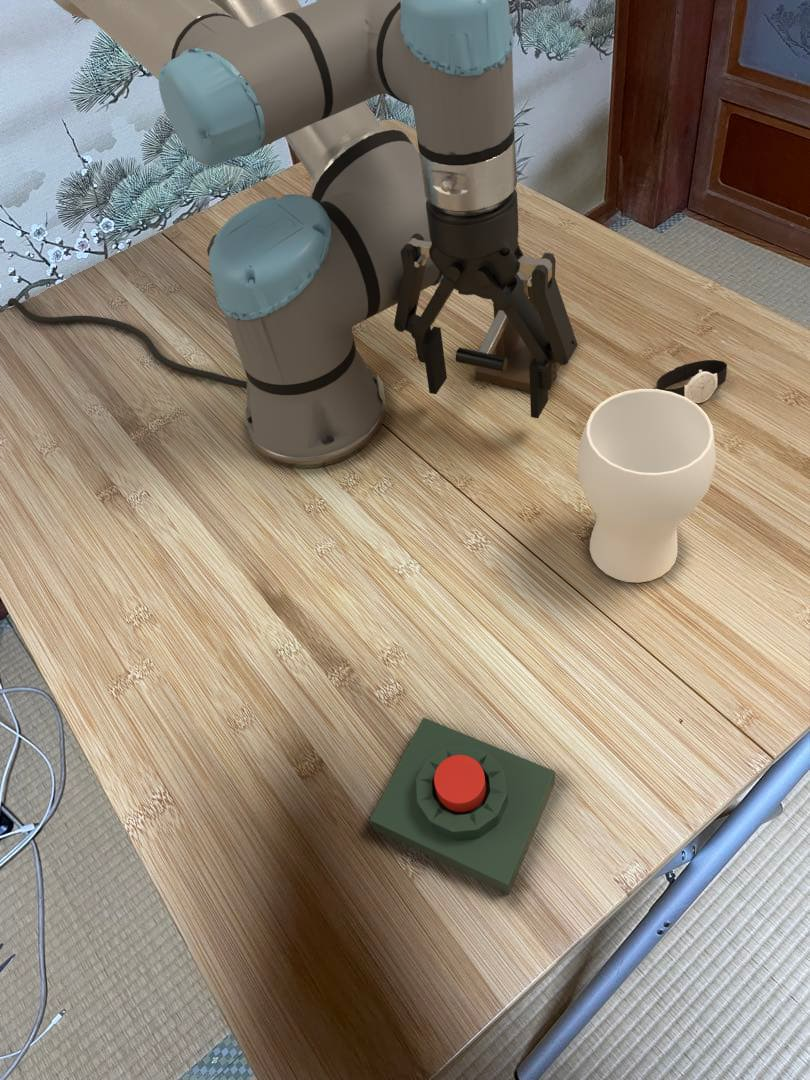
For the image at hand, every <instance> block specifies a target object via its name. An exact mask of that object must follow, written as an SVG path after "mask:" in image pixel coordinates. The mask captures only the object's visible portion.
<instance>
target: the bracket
mask: <svg viewBox="0 0 810 1080" xmlns="http://www.w3.org/2000/svg"><path fill="white" fill-rule="evenodd" d="M546 253H547V252H544V253H543V255H544V254H546ZM548 253H549V254H552V255H553V256H554V257H555V254H554V253H552V252H548ZM543 255H542V256H541V258H542V257H543ZM506 289H507V286H506V287H505V288H504V289H503V292H505V290H506ZM528 298H529V300H530V301H531V303H532V304H533V306H534V308H535V309H536V311H537V312H538V310H537V307H536V304H535V302H534V299H533V295H532V287H529V297H528ZM492 305H493V320H494V319H495V317H496V315H497V313H498V311H499V310H498V309H497V308H496V306H495V305H494V303H493V302H492ZM538 314H539V313H538ZM492 354H493V355H497V356H502V357H506V358H507V359H508V363H507V368H506V370H505V371H504V372H499V371H495V370H490V369H486V368H481V367H477V368H476V370H475V379H476V381H477V380H478V381H482V382H486V383H490V384H493V385H498V386H503V387H508V388H510V389H511V388H512V389H516V390H521V391H524V392H528V393H530V372H529V365H530V364H531V362H532V360H533V359H534V357H533V355H532V354H531V352H530V351H529V349H528V348H527V346H526V345H525V343H524V342H523V340H522V338H521V337H520V335H519V334H518V332H517V331H516V329H515V328H514V326H513V325H512V323H511V322H510V320H509V321H508V323H507V325H506V327H505V329H504V331H503V333H502V335H501V337H500V339H499V341H498V343H497V345H496V347H495V349H494V351H493V353H492ZM561 367H562V365H561V364H559V363H557V372H558V371H559V369H560V368H561Z"/></svg>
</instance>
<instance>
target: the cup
mask: <svg viewBox="0 0 810 1080" xmlns="http://www.w3.org/2000/svg"><path fill="white" fill-rule="evenodd" d="M715 444H716V443H715V435H714V426H713V424H712V422H711V420H710V418H709V416H708V414H707V413H706V411H704V409H702V408H701V407H700V406H699V405H698V404H697V403H696V402H693V401H691V400H689V399H688V398H686V397H684V396H681V395H678V394H676V393H673V392H669V391H664V390H659V389H657V388H636V389H631V390H625V391H622V392H620V393H616V394H614V395H611V396H609V397H608V398H606V399H605V400H604V401H602V402H600V403H599V404H598V405H597V406H596V407H595V408H594V409H593V411H592V412H591V413H590V415H589V417H588V419H587V421H586V424H585V426H584V429H583V432H582V435H581V437H580V439H579V443H578V447H577V449H578V450H577V464H576V465H577V466H576V467H577V468H576V476H577V479H578V482H579V484H580V488H581V490H582V493H583V495H584V499H585V501H586V502H587V505H588V506H589V507H590V508H591V510H592V512H593V513H594V514H595V518H596V521H595V522H594V526H593V529H592V532H591V535H590V539H589V553H590V556H591V559H592V561H593V562H594V564H595V565H596V566H597V568H598V569H599V570H601V571H602V572H603V573H604V574H605V575H607V576H609V577H611V578H613V579H615V580H619V581H621V582H626V583H637V584H638V583H639V584H640V583H647V582H651V581H654V580H656V579H659V578H661V577H663V576H664V575H666V574H667V573H668V572H669V571H670V570H671V569H672V567H673V566H674V564H675V563H676V560H677V557H678V544H679V543H678V527H679V525H680V524H681V523H682V522H683V521H685V520H686V519H688V518H689V517H690V516H691V515H692V514H693V512H694V511H695V509H696V508H697V507H698V505H699V504H700V503H701V501H702V500H703V499H704V497H705V496H706V495H707V494H708V492H709V491H710V490H709V489H710V487H711V483H712V480H713V478H714V477H713V476H714V472H715V469H716V465H717V464H716V463H717V454H716V445H715Z"/></svg>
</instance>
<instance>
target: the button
mask: <svg viewBox="0 0 810 1080" xmlns="http://www.w3.org/2000/svg"><path fill="white" fill-rule="evenodd" d="M434 784H435V788H436V792H437V795H438V798H439V800H440V802H441V803H442V804H443V805H444V806H445V807H446V808H448V809H449V810H452V811H455V812H467V811H470V810H473V809H474V808H476V807H477V806H478V805H479V804H480V803H481V802H482V800H483V799H484V796H485V793H486V782H485V775H484V771H483V769H482V767H481V766H480V764H479V763H478V762H477V761H476V760H474V759H473V758H471V757H469V756H465V755H454V756H451V757H448V758H447V759H445V760H444V761H442V762H441V763H440V765H439V766H438V767H437V769H436V772H435V775H434Z"/></svg>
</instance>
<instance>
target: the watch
mask: <svg viewBox="0 0 810 1080" xmlns="http://www.w3.org/2000/svg"><path fill="white" fill-rule="evenodd" d="M727 372H728V364H727V363H726V362H725V361H723V360H718V359H704V360H699V361H694V362H689V363H684V364H683V365H680V366H677V367H675V368H674V369H672V370H670V371H667V372H665V373H664V374H662V375H661V376H660V377H659V378H658V380H657V381H656V389H659V390H664V391H669V392H673V393H676V394H678V395H681V396H684V397H686V398H688V399H689V400H691V401H692V402H694V403H695V404H697V403H699V404H700V403H704V402H706V401H707V400H709V398H710V397H712V395H713V394H714V392H715V391H716V389H717V388H718V387H720V386H722V385H723V384H724V383H725V382H726V379H727ZM688 379H690V380H689V381H688V383H687V384H685V385H683V386H681V387H675V388H667V387H669V386H671V385H673V384H676V383H678V382H681V381H684V380H688Z"/></svg>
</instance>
